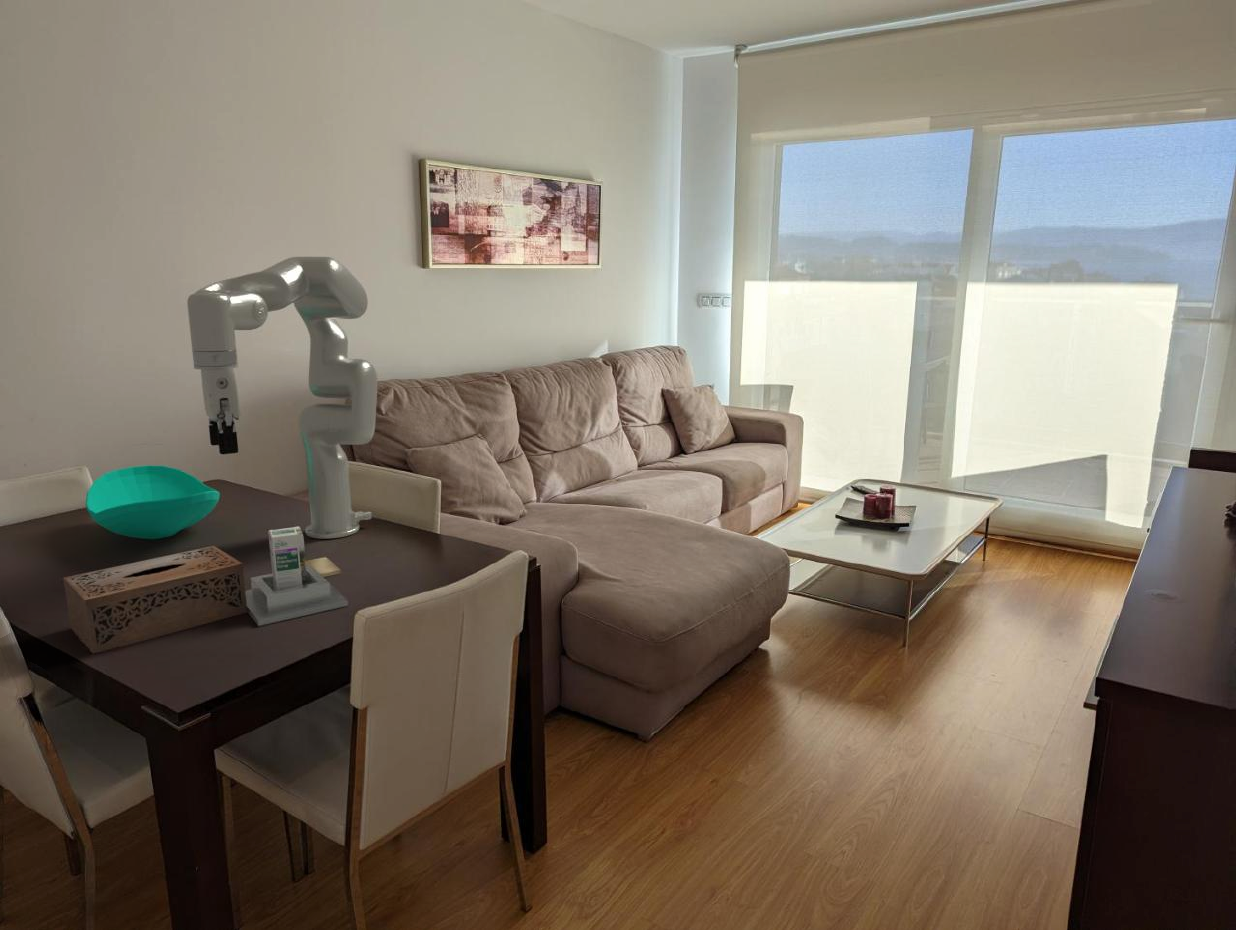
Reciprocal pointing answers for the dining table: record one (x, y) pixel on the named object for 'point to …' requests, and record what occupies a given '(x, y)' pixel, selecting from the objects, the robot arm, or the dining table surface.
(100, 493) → the table top decor
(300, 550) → the syrup box
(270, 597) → the gray stepped square frame
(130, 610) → the tissue box cover
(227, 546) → the dining table surface
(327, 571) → the cork mat
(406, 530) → the dining table surface
